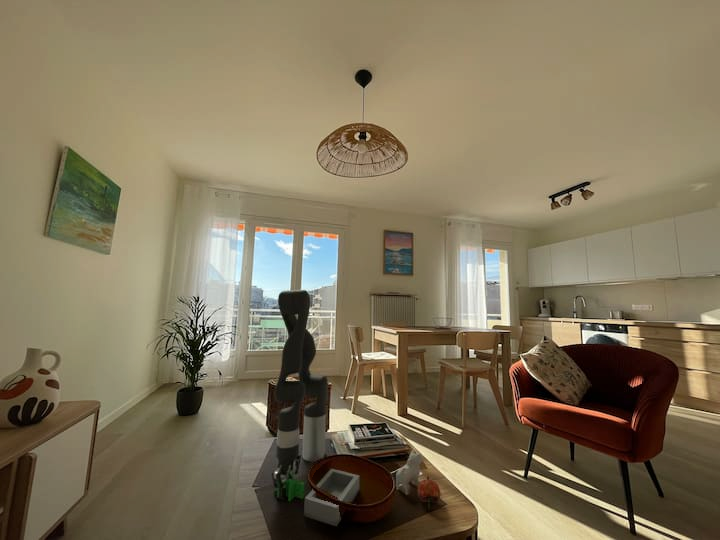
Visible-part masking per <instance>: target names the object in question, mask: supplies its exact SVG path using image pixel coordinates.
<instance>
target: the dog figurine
mask: <svg viewBox="0 0 720 540" xmlns="http://www.w3.org/2000/svg"><path fill="white" fill-rule="evenodd" d="M408 456H409V457H408V458H407V462H406V464H404V466H402V467H403V468H402V467H401V468H402V469H400V468H398V469H399V470H398V469H397V470H398V472H397V473H396V487H397V488H396V490H397V491H399V490H400V487H399V485H400V483H401V484H402V487H403V488H404V494H405V495H406V496H408V495H410V491H409V483H411V481H413V480H414V483H415V487H417V488H418V485H419V483H420V482H419V477H420V476H419V474H420V472H421V469H420V468H421V467H420V464H421V463H423V456H422V454H421V453H419V452H417V453H415V450H413V449H412V450H411V452H410V454H409V455H408Z"/></svg>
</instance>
